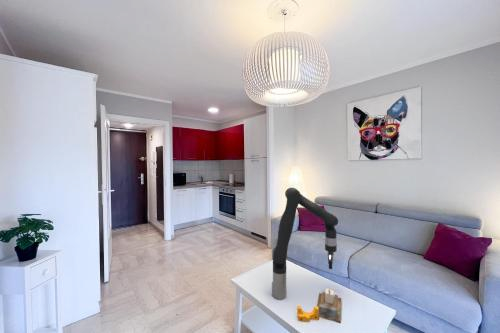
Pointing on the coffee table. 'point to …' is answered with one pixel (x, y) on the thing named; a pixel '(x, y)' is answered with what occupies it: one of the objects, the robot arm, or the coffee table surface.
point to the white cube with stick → (329, 296)
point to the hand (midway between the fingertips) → (330, 268)
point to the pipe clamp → (307, 314)
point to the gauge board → (329, 308)
